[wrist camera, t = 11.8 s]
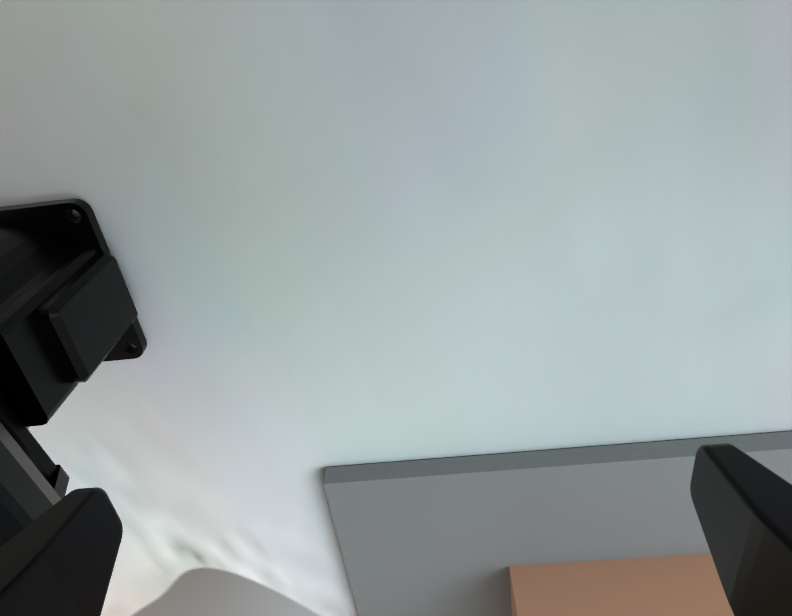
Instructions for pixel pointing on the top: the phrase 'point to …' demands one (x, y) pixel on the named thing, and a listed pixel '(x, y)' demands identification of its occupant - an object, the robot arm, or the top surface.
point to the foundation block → (620, 588)
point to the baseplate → (515, 518)
